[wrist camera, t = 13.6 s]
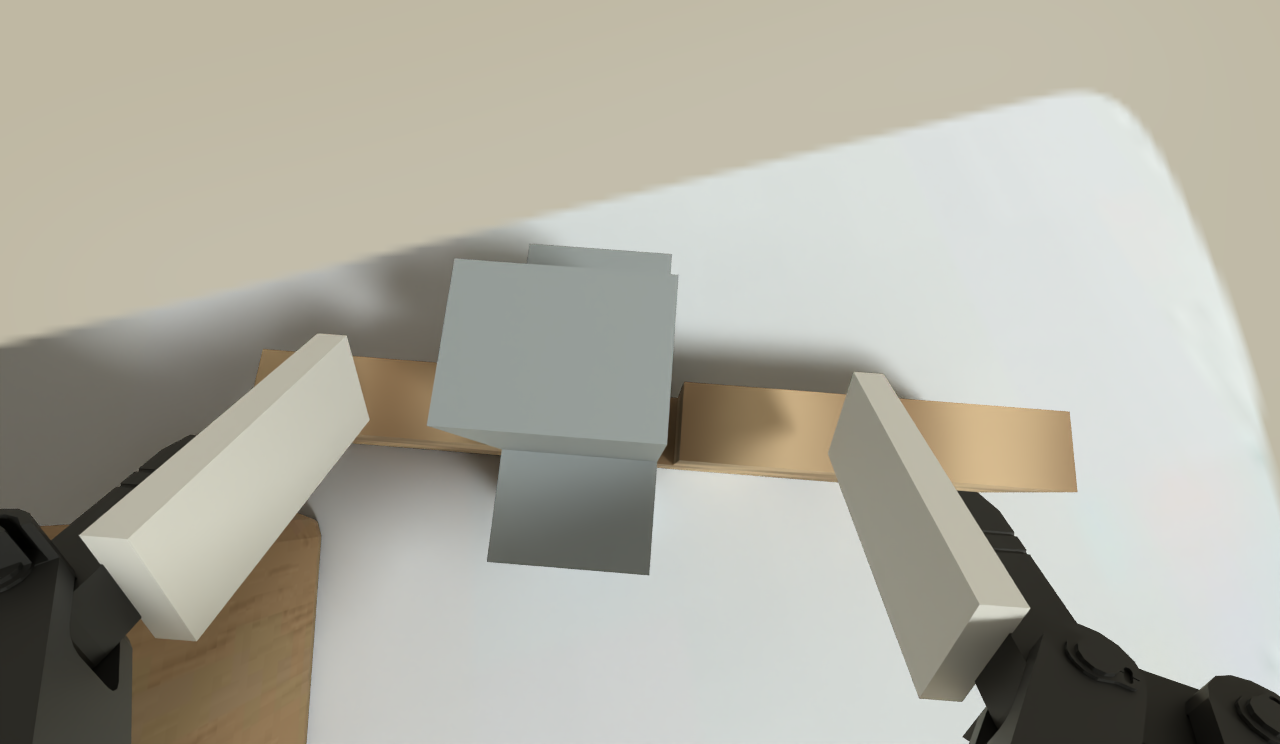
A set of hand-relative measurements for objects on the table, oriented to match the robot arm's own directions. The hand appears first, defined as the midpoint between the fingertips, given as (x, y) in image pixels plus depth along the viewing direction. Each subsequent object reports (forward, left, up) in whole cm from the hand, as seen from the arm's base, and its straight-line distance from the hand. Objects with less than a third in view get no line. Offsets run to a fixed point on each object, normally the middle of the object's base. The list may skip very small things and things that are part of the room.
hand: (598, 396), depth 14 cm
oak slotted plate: (+2, +1, -9) cm, 9 cm away
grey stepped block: (0, 0, -9) cm, 9 cm away
